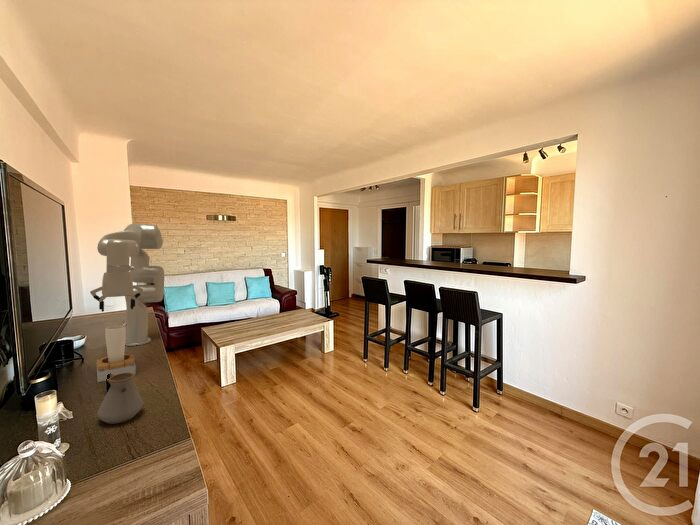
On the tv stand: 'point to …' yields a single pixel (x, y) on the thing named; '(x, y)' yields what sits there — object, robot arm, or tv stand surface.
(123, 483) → the tv stand surface
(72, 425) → the tv stand surface
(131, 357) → the octagon ring knob plate
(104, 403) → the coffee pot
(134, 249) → the robot arm
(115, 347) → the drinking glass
